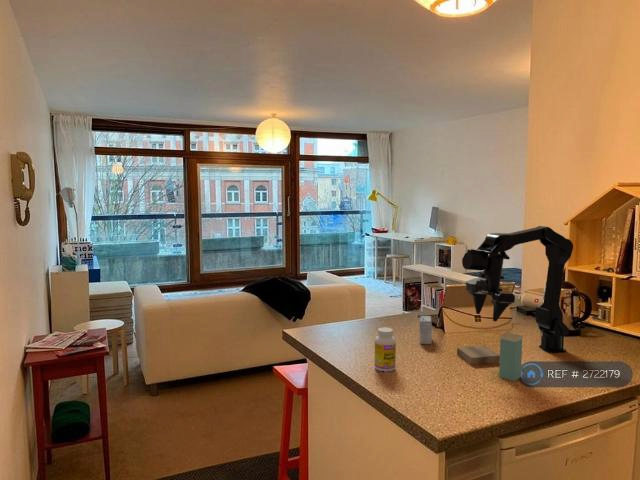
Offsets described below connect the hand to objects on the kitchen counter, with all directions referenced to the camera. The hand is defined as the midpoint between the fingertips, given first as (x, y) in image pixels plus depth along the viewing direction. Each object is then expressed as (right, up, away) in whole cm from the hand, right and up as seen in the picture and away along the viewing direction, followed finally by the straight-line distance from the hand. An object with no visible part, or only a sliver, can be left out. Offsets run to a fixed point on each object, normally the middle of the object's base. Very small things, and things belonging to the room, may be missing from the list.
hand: (486, 317), depth 157 cm
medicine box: (-16, -12, +20) cm, 28 cm away
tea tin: (+2, -16, -14) cm, 21 cm away
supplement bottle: (-35, -16, -6) cm, 38 cm away
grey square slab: (-2, -15, +1) cm, 15 cm away
